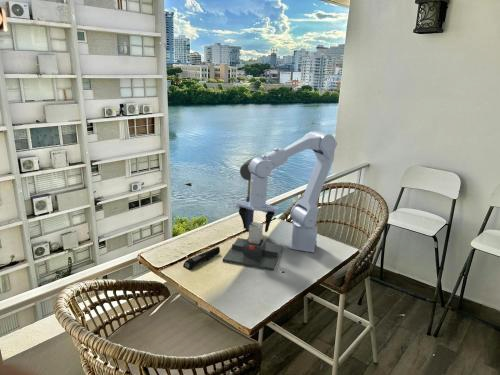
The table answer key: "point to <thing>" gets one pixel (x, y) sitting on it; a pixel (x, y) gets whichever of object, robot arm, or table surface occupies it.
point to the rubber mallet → (247, 176)
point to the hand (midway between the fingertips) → (256, 229)
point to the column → (255, 233)
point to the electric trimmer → (201, 258)
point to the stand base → (254, 254)
